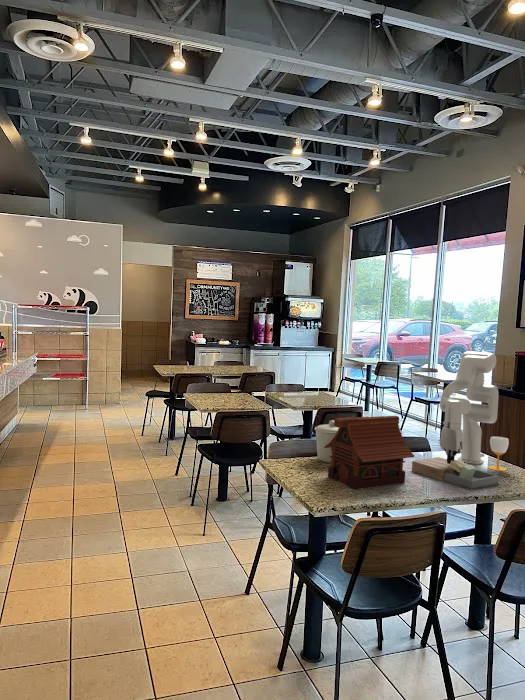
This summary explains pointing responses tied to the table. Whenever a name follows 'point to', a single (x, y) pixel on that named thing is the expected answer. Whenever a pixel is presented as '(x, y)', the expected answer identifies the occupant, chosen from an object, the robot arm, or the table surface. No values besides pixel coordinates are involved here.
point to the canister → (325, 440)
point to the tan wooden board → (432, 467)
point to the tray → (472, 480)
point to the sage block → (467, 472)
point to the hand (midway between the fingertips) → (450, 463)
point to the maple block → (457, 465)
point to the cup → (498, 450)
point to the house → (368, 452)
